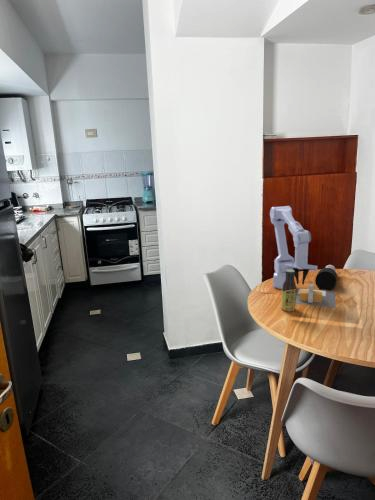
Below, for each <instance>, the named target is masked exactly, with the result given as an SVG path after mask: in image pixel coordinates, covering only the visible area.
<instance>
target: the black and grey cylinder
mask: <svg viewBox="0 0 375 500" xmlns="http://www.w3.org/2000/svg"><path fill="white" fill-rule="evenodd" d="M337 280H338V274H337V272H336V267H335V266H334V265H332V264H328V265H326V266H325V267H323V268H321V269H320V270H319V271H318V272H317V274H316V276H315V279H314V282H315V283H314V284H315V285H316V288H318V290H322V291H332V290H333V289H334V288H335V286H337Z"/></svg>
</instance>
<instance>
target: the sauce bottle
mask: <svg viewBox="0 0 375 500" xmlns="http://www.w3.org/2000/svg"><path fill="white" fill-rule="evenodd" d="M285 273H286V278H285V281H284V283H283V288H282V289H281V304H280V306H281V307H280V308H281V310H282V311H283V312H286V313H288V312H289V313H290V312H291V313H292V312H295V310H296V306H297V304H296V295H297V283H296V282H295V271H294V270H291V269H288V270H286V272H285Z"/></svg>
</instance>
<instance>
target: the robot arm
mask: <svg viewBox="0 0 375 500" xmlns="http://www.w3.org/2000/svg"><path fill="white" fill-rule="evenodd" d="M269 216H270V217H269V218H270V223H271V224H272V225H273V226H274V232H275V233H274V235H275V239H276V240H275V241H276V245H277V246H276V247H277V254H278V256H276V258H274V260H273V262H274V267H273V268H274V273H273V279H272V281H273V282H272V283H273V284H272V289H279V290H282V288H283V283H284V281H285V278H286V273H285V272H286V270H288V269H291V270H294V271H295V275H294V279H295V280H296V285H299V283H300V281H299V278H300V277H299V276H300V275H299V274H300V270H302V283H301V284H302V285H303V286H304V285H305V280H306V278H307V275H308V274H309V272H310V271H315V272H317V271H318V265H314V264H309V263H308V257H309V243H310V242H311V241H312V234H311V232H310V231H309V230H306V229H304V228H303V226H302V225H301V223H300V222H298V221H296V220H295V218H294V217H293V209H292V207H291V206H290V205H285V206H272V207H270V210H269ZM286 224H287V225H288V230H289V232H290V233H291V235H292V240H293V247H295V248H294V249H295V250H294V257H293V256H291V255H290V254H289V251H288V250H289V249H288V243H287V235H286V229H285V225H286Z"/></svg>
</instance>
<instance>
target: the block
mask: <svg viewBox="0 0 375 500" xmlns="http://www.w3.org/2000/svg"><path fill="white" fill-rule="evenodd" d="M308 292H309V291H308V290H300V301H308ZM313 302H319V303H322V292H320V291H313Z"/></svg>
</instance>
